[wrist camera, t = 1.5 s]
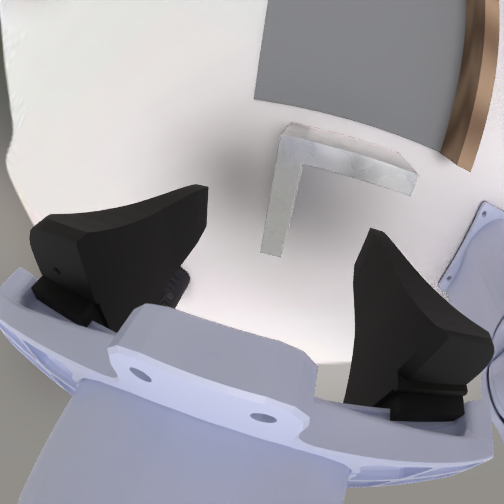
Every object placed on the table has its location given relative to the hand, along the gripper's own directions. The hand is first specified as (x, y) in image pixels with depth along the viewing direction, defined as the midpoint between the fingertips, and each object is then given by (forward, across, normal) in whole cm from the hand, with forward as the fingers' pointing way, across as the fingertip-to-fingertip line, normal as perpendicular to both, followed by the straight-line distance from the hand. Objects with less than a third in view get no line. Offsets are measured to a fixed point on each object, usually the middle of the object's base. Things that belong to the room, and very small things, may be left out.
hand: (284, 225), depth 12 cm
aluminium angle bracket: (+10, -3, +1) cm, 10 cm away
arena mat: (+10, -3, -13) cm, 16 cm away
